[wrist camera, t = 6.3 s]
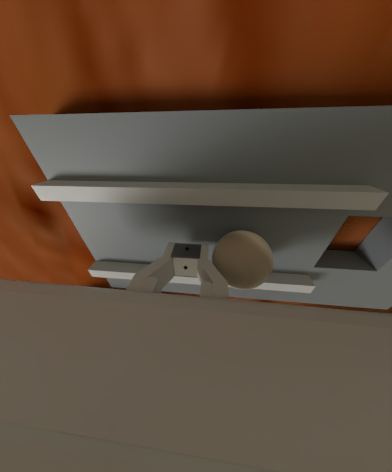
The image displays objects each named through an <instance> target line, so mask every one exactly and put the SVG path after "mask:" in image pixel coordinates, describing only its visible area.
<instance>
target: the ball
mask: <svg viewBox="0 0 392 472" xmlns="http://www.w3.org/2000/svg"><path fill="white" fill-rule="evenodd" d="M212 263H213V265H214V266H215V267H216V269H217V270H218V271H219V272H220V274H221V275H222V276H223V277H224V279H225V280H226V281H227V282H228V286H230V287H232V288H236V289H241V290H248V289H253V288H256V287H258V286H260V285H261V284H263V283H264V282H265V281H266V280H267V279H268V278H269V276H270V274H271V272H272V269H273V263H274V259H273V254H272V251H271V248H270V247H269V245H268V243H267V242H266V241H265V240H264V239H263V238H262V237H260V236H259V235H257V234H255V233H253V232H250V231H245V230H239V231H233V232H230V233H228V234H226V235H224V236H223V237H222V238H221V239H220V240H219V241H218V242H217V244H216V245H215V247H214V250H213V254H212Z"/></svg>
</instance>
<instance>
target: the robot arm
mask: <svg viewBox="0 0 392 472" xmlns="http://www.w3.org/2000/svg"><path fill="white" fill-rule="evenodd" d="M175 275H177V276H191V277H197V278H198V280H199V282H200V283H201V290H200V297H198V296H187V295H176V294H165V293H161V290H162V289H163V288H164V287H165V286H166V285H167V284H168V283H169V282H170V281H171V279H172V278H173V277H174V276H175ZM0 472H392V314H390V313H378V312H366V311H355V310H343V309H332V308H321V307H310V306H299V305H287V304H276V303H265V302H254V301H243V300H232V299H229V291H228V282H227V281H226V280H225V279H224V277H223V276H222V275H221V274H220V272H219V271H218V270H217V269H216V267H215V266H214V265H213V264H212V262H211V261H210V260H208V244H202V245H201V244H187V243H174V242H169V243H168V245H167V247H166V250H165V252H164V255H163V257H160V258H158V259H157V260H155V261H154V262H152V263H151V264H149V265H148V266H146V267H145V268H144V269H142V270H141V271H139V272H138V273H136V274H135V275H134V276H133V278H132V280H131V282H130V283H129V285H128V287H127V289H126V290H120V289H109V288H98V287H87V286H75V285H64V284H53V283H42V282H30V281H19V280H8V279H0Z"/></svg>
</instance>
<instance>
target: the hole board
mask: <svg viewBox="0 0 392 472" xmlns="http://www.w3.org/2000/svg"><path fill="white" fill-rule="evenodd" d="M10 117H11V119H12V120H13V122H14V124H15V125H16V127H17V129H18V130H19V132H20V134H21V135H22V137H23V139H24V141H25V142H26V144H27V146H28V147H29V149H30V151H31V152H32V154H33V156H34V157H35V159H36V161H37V162H38V164H39V166H40V168H41V169H42V171H43V173H44V174H45V176H46V178H47V179H48V180H47V181H44V182H41V183H37V184H34V185H31V187H32V188H33V190H34V191H35V192H36V194H37V195H38V197H39V198H40V200H41V201H61V203H62V205H63V206H64V208H65V210H66V211H67V213H68V215H69V216H70V218H71V220H72V221H73V223H74V225H75V227H76V228H77V230H78V232H79V233H80V235H81V237H82V238H83V240H84V242H85V243H86V245H87V247H88V248H89V250H90V252H91V254H92V255H93V257H94V259H95V260H96V261H95V262H94V263H93V265H92V266H91V267H90V268H89V269H88V271H89V273H90V274H91V275H92V277H104V278H106V279H107V280H108V282H109V284H110V286H111V287H116V288H127V287H128V285H129V283H130V282H131V280H132V278H133V276H134V275H135V274H136V273H138V272H139V271H141V270H142V269H144V268H145V267H146V266H148V265H149V264H151V263H152V262H154V261H155V260H157V259H158V258H160V257H163V255H164V252H165V250H166V247H167V245H168V243H169V242H174V243H187V244H201V245H202V244H208V260H210V261H211V262H212V254H213V250H214V247H215V245H216V244H217V242H218V241H219V240H220V239H221V238H222V237H223V236H224V235H226V234H228V233H230V232H233V231H239V230H245V231H250V232H253V233H255V234H257V235H259V236H260V237H262V238H263V239H264V240H265V241H266V242H267V243H268V245H269V247H270V248H271V251H272V254H273V259H274V263H273V269H272V272H271V274H270V276H269V278H268V279H267V280H266V281H265V282H264V283H263V284H261V285H260V286H258V287H256V288H253V289H248V290H241V289H236V288H232V287H230V286H228V291H229V297H238V298H251V299H263V300H275V301H287V302H299V303H312V304H324V305H336V306H348V307H360V308H373V309H385V310H387V309H389V308H390V307H392V105H391V106H353V107H315V108H276V109H238V110H200V111H162V112H124V113H86V114H48V115H10ZM348 216H365V217H383V218H382V219H381V220H380V221H379V222H378V224H377V225H376V226H375V227H374V228H373V230H372V231H371V232H370V233H369V234H368V235H367V237H366V238H365V239H364V240H363V241H362V243H361V244H360V245H359V246H358V247H357V248H356V250H355V251H343V250H326V248H327V247H328V245H329V244H330V242H331V241H332V239H333V238H334V237H335V235H336V234H337V232H338V231H339V229H340V228H341V226H342V225H343V223H344V222H345V220H346V219H347V217H348ZM212 264H213V263H212ZM200 290H201V283H200V282H199V280H198V278H197V277H191V276H177V275H175V276H174V277H173V278H172V279H171V281H170V282H169V283H168V284H167V285H166V286H165V287H164V288H163V289H162V290H161V291H165V292H177V293H189V294H200Z"/></svg>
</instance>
